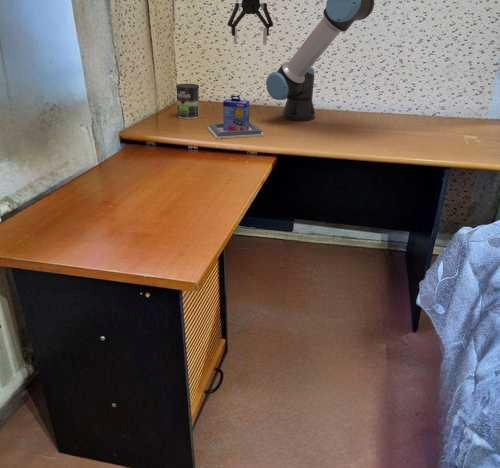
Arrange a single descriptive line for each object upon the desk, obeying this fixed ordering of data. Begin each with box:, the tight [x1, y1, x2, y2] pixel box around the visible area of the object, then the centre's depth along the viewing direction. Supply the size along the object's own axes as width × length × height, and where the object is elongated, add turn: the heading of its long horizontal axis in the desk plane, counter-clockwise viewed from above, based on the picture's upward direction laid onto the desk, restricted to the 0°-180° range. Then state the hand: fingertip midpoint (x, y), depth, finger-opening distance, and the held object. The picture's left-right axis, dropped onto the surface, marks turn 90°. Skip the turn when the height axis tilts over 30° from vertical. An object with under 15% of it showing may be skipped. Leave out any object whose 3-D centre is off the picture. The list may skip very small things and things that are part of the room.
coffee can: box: [175, 83, 200, 120], centre depth 219 cm, size 10×10×14 cm
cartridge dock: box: [207, 121, 265, 140], centre depth 198 cm, size 20×16×2 cm
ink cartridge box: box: [222, 94, 250, 131], centre depth 195 cm, size 10×6×14 cm, turn 73°
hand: (250, 44), depth 212 cm, fingers open, 13 cm apart
